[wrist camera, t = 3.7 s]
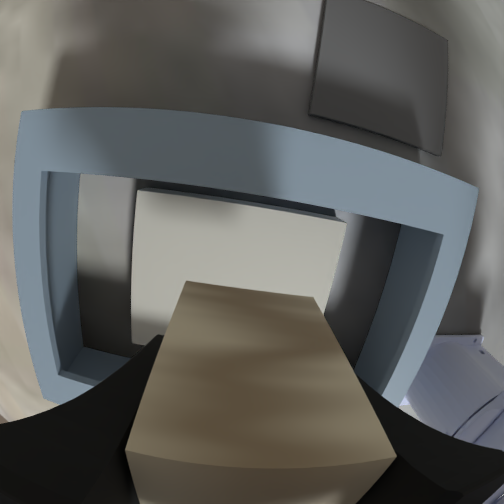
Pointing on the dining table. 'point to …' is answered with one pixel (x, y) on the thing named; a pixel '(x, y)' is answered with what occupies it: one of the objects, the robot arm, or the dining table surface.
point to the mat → (381, 74)
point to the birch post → (253, 407)
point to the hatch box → (226, 230)
